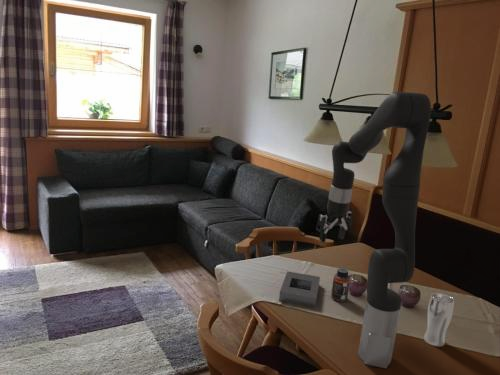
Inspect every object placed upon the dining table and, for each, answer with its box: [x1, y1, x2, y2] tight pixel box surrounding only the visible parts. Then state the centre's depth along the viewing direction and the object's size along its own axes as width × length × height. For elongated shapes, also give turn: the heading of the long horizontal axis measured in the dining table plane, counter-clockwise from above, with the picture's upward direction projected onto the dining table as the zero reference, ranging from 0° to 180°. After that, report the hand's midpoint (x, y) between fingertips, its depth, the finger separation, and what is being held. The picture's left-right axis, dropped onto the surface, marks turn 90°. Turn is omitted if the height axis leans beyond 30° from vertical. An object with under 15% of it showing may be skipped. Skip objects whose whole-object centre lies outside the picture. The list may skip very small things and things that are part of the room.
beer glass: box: [423, 292, 455, 348], centre depth 127 cm, size 7×7×15 cm
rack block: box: [278, 270, 321, 308], centre depth 153 cm, size 18×13×4 cm
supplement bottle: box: [330, 267, 351, 303], centre depth 150 cm, size 6×6×11 cm
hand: (331, 239), depth 147 cm, fingers open, 8 cm apart
